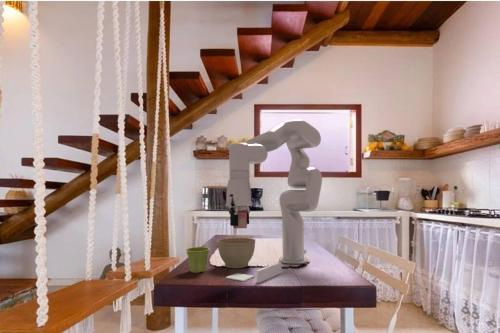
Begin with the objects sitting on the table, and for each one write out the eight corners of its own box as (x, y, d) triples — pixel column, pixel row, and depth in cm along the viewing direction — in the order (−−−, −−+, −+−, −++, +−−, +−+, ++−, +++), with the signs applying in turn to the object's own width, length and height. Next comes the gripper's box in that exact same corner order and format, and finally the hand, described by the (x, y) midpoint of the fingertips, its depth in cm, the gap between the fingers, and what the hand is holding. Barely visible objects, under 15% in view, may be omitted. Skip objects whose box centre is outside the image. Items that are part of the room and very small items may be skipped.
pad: (237, 274, 125) (237, 273, 125) (254, 277, 120) (254, 275, 120) (225, 278, 119) (225, 277, 119) (243, 281, 115) (243, 280, 115)
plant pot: (205, 274, 125) (205, 251, 125) (181, 273, 127) (182, 250, 127) (212, 268, 134) (212, 247, 134) (191, 267, 136) (191, 246, 136)
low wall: (279, 272, 127) (279, 262, 127) (281, 272, 126) (281, 262, 126) (256, 282, 113) (256, 270, 114) (259, 282, 113) (258, 271, 113)
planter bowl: (258, 262, 144) (258, 237, 145) (251, 271, 129) (251, 243, 129) (223, 261, 148) (223, 236, 148) (212, 270, 132) (212, 242, 133)
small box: (233, 228, 119) (233, 206, 119) (233, 227, 123) (233, 206, 124) (247, 228, 119) (246, 206, 120) (246, 227, 123) (246, 205, 124)
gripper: (244, 177, 132) (245, 222, 130) (216, 175, 117) (216, 226, 116) (260, 176, 127) (261, 223, 126) (233, 175, 113) (233, 227, 112)
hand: (239, 224), depth 121 cm, fingers closed on small box, 6 cm apart
